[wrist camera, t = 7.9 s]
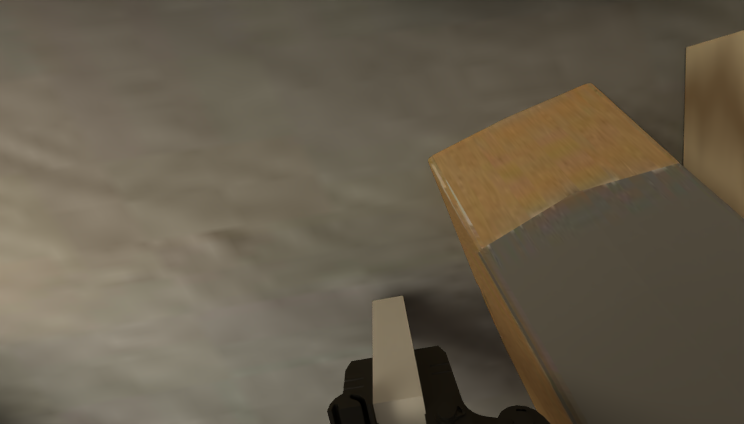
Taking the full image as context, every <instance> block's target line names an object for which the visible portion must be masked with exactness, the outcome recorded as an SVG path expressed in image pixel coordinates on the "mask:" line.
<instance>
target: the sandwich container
mask: <svg viewBox="0 0 744 424" xmlns="http://www.w3.org/2000/svg"><path fill="white" fill-rule="evenodd" d="M428 163H429V165H430V167H431V170H432V172H433V175H434V177H435V180H436V182H437V185H438V187H439V190H440V192H441V195H442V197H443V200H444V202H445V205H446V207H447V210H448V212H449V215H450V217H451V220H452V222H453V225H454V227H455V230H456V232H457V235H458V237H459V240H460V242H461V245H462V247H463V250H464V252H465V255H466V257H467V260H468V262H469V265H470V267H471V270H472V272H473V275H474V277H475V280H476V282H477V284H478V285H479V287H480V290H481V292H482V295H483V298H484V300H485V303H486V305H487V307H488V310H489V312H490V314H491V317H492V319H493V321H494V323H495V326H496V328H497V330H498V332H499V334H500V336H501V337H500V338H501V340H502V342H503V344H504V346H505V348H506V350H507V352H508V354H509V356H510V358H511V360H512V362H513V364H514V366H515V368H516V370H517V372H518V374H519V376H520V378H521V380H522V382H523V384H524V386H525V388H526V390H527V392H528V394H529V396H530V398H531V400H532V402H533V404H534V406H535V408H536V410H537V411H538V412H539V413H540V414H541V415H543V416H544V417H545V418H546V419H547V420H548V421H549V422H550V424H744V218H743V217H741V216H740V215H739V214H738V213H737V212H736V211H735V210H733V209H732V208H731V207H730V206H729V205H728V204H726V203H725V202H724V201H723V200H722V199H721V198H720V197H718V196H717V195H716V194H715V193H714V192H713V191H711V190H710V189H709V188H708V187H707V186H706V185H705V184H703V183H702V182H701V181H700V180H699V179H698V178H696V177H695V176H694V175H693V174H692V173H691V172H690V171H688V170H687V169H686V168H685V167H684V166H683V165H681V164H680V163H679V162H678V161H677V160H676V159H675V158H674V157H673V156H671V155H670V154H669V153H668V152H667V151H666V150H665V149H664V148H663V147H662V146H660V145H659V144H658V143H657V142H656V141H655V140H654V139H653V138H652V137H650V136H649V135H648V134H647V133H646V132H645V131H644V130H643V129H642V128H640V127H639V126H638V125H637V124H636V123H635V122H634V121H633V120H632V119H631V118H629V117H628V116H627V115H626V114H625V113H624V112H623V111H622V110H621V109H619V108H618V107H617V106H616V105H615V104H614V103H613V102H612V101H611V100H609V99H608V98H607V97H606V96H605V95H604V94H603V93H602V92H601V91H600V90H598V89H597V88H596V87H595V86H594V85H593V84H592V83H588V84H584V85H582V86H580V87H577V88H575V89H573V90H570V91H568V92H566V93H563V94H561V95H559V96H556V97H554V98H551V99H549V100H547V101H544V102H542V103H540V104H537V105H535V106H533V107H530V108H528V109H526V110H523V111H521V112H519V113H516V114H514V115H512V116H509V117H507V118H505V119H503V120H501V121H499V122H497V123H495V124H493V125H491V126H489V127H487V128H485V129H483V130H481V131H479V132H477V133H475V134H474V135H472V136H470V137H468V138H466V139H464V140H462V141H460V142H458V143H456V144H454V145H452V146H450V147H448V148H446V149H444V150H442V151H440V152H438V153H436V154H435V155H433V156H431V157H430V158H429V159H428ZM483 293H484V294H483ZM484 295H485V296H484ZM485 298H486V299H485ZM486 300H487V301H486Z"/></svg>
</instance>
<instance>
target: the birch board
mask: <svg viewBox="0 0 744 424" xmlns="http://www.w3.org/2000/svg"><path fill="white" fill-rule="evenodd" d="M683 166H684V167H685V168H686V169H687V170H688V171H690V172H691V173H692V174H693V175H694V176H695V177H696V178H698V179H699V180H700V181H701V182H702V183H703V184H705V185H706V186H707V187H708V188H709V189H710V190H711V191H713V192H714V193H715V194H716V195H717V196H718V197H720V198H721V199H722V200H723V201H724V202H725V203H726V204H728V205H729V206H730V207H731V208H732V209H733V210H735V211H736V212H737V213H738V214H739V215H740V216H741V217H743V218H744V30H743V31H740V32H736V33H733V34H730V35H726V36H723V37H719V38H716V39H713V40H709V41H706V42H703V43H699V44H696V45H692V46H689V47H686V73H685V116H684V159H683Z"/></svg>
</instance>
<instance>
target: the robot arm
mask: <svg viewBox="0 0 744 424" xmlns="http://www.w3.org/2000/svg"><path fill="white" fill-rule="evenodd" d="M372 330H373V358H368V359H362V360H356V361H351V363H350V364H349V366H348V368H347V369H346V371H345V380H344V381H345V382H344V391H343V394H342V395H340V396H338V397H337V398H335V399H334V400H333V402H332V403H331V404H330V406H329V408H328V411H327V412H328V416H329V420H330V424H550V422H549V421H548V420H547V419H546V418H545V417H544V416H543V415H541V414H540V413H539V412H537V411H536V410H534V409H532V408H529V407H526V406H518V405H516V406H511V407H507V408H506V409H504V410H503V411H501V413H500V415H499V417H498V418H493V417H486V416H481V415H478V414H476V413H474V412H472V411H471V410H469V409H468V408H467V407H466V406H465V405H464V403H463V401H462V398H461V395H460V393H459V390H458V387H457V384H456V381H455V378H454V375H453V372H452V369H451V366H450V364H449V361H448V358H447V355H446V353H445V352H444V351H443V350H442V349H441V348H440V347H439V346H434V347H428V348H422V349H416V350H414V349H413V344H412V339H411V334H410V329H409V324H408V319H407V314H406V309H405V304H404V299H403V296H398V297H392V298H386V299H380V300H375V301H372Z"/></svg>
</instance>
